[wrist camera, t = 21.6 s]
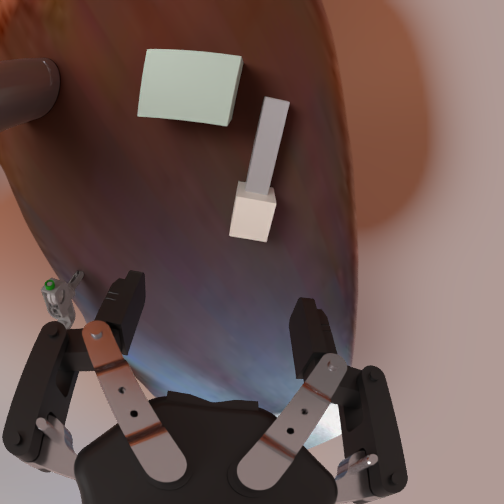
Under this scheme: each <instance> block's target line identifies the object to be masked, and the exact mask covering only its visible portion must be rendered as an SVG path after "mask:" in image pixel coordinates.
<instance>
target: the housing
mask: <svg viewBox="0 0 504 504" xmlns="http://www.w3.org/2000/svg"><path fill="white" fill-rule="evenodd" d="M243 63H244V62H243V60H242V57H241V56H234V55H227V54H219V53H211V52H200V51H188V50H168V49H147V53H146V59H145V64H144V70H143V77H142V83H141V90H140V98H139V106H138V115H137V116H140V117H154V118H166V119H176V120H185V121H193V122H201V123H208V124H215V125H222V126H228V124H229V123H230V121H231V119H232V115H233V110H234V105H235V100H236V96H237V91H238V86H239V81H240V77H241V72H242V67H243Z"/></svg>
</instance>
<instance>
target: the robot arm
mask: <svg viewBox="0 0 504 504" xmlns="http://www.w3.org/2000/svg"><path fill="white" fill-rule="evenodd" d="M59 87H60V75H59V71H58V68H57V66H56V64H55V63H54V62H53V61H52V60H50V59H47V58H31V59H16V60H6V61H0V132H1V131H4V130H6V129H9V128H12V127H14V126H17V125H20V124H23V123H26V122H28V121H31V120H34V119H37V118H40V117H42V116H44V115H45V114H46V113H48V112H49V110H50V109H51V108H52V106H53V105H54V103H55V101H56V99H57V96H58V92H59ZM144 303H145V274H144V273H143V272H137V271H132V270H130V271H129V273H128V275H127V277H126V279H121V278H119V279H118V280H116V281H115V282H114V283H113V284H112V285H111V287H110V289H109V291H108V293H107V295H106V298H105V299H104V301H103V303H102V305H101V307H100V309H99V311H98V313H97V316H96V318H95V320H94V321H91V322H89V323H88V324H86V325H85V326H84V328H82V329H66V328H65V326H64V325H63V324H62V323H61V322H58V321H52V322H49V323H47V324H46V325H44V326H43V327H42V329H41V331H40V333H39V335H38V338H37V340H36V342H35V344H34V346H33V349H32V351H31V353H30V356H29V358H28V360H27V363H26V365H25V368H24V370H23V373H22V375H21V378H20V381H19V383H18V386H17V389H16V392H15V395H14V397H13V400H12V403H11V406H10V410H9V413H8V416H7V420H6V424H5V427H4V431H3V436H2V438H3V443H4V445H5V447H6V449H7V450H8V451H9V452H10V453H12V454H13V455H15V456H16V457H18V458H19V459H20V460H21V461H23V462H25V463H26V464H28V465H30V466H32V467H34V468H37V469H39V470H40V471H43V472H51V471H52V472H54V473H57V474H60V475H62V476H65V477H68V478H71V479H74V480H76V482H77V484H78V487H79V490H80V494H81V499H82V504H340V503H347V502H353V503H356V504H364V503H367V502H371V501H374V500H377V499H380V498H383V497H386V496H389V495H392V494H395V493H397V492H400V491H401V490H402V489H404V487H405V486H406V484H407V480H408V476H407V470H406V465H405V459H404V454H403V449H402V444H401V439H400V435H399V430H398V426H397V421H396V417H395V413H394V409H393V405H392V401H391V397H390V393H389V389H388V386H387V382H386V378H385V375H384V373H383V372H382V371H381V370H380V369H379V368H378V367H375V366H366V367H365V368H364V369H363V370H359V369H356V368H353V367H350V366H347V364H346V362H345V360H344V359H343V358H342V357H341V356H339V355H337V351H336V347H335V344H334V340H333V336H332V333H331V329H330V326H329V322H328V318H327V316H326V315H325V313H324V312H323V311H322V309H317V308H316V304H315V300H314V299H310V298H302V297H300V298H299V299H298V301H297V303H296V306H295V308H294V310H293V313H292V315H291V317H290V322H289V330H290V337H291V344H292V351H293V358H294V365H295V372H296V379H304V384H303V385H302V386H301V388H300V389H299V390H298V392H297V393H296V394H295V396H294V397H293V398H292V400H291V401H290V402H289V404H288V405H287V406H286V408H285V409H284V410H283V411H282V413H281V414H280V415H279V417H278V418H277V417H276V416H275V415H273V414H272V413H270V412H268V411H266V410H264V409H262V408H259V407H258V401H244V400H232V401H224V402H209V401H207V400H204V399H201V398H198V397H196V396H193V395H191V394H185V393H179V392H173V391H168V393H167V396H163V397H157V398H154V399H151V400H149V401H148V400H147V399H146V397H145V395H144V393H143V391H142V389H141V388H140V386H139V384H138V382H137V380H136V378H135V376H134V374H133V372H132V370H131V368H130V366H129V364H128V363H127V361H126V360H124V358H123V356H122V354H123V355H128V352H129V349H130V345H131V342H132V339H133V336H134V333H135V330H136V327H137V324H138V321H139V318H140V316H141V313H142V310H143V307H144ZM79 371H95V372H96V375H97V377H98V380H99V382H100V385H101V387H102V389H103V392H104V394H105V396H106V398H107V401H108V403H109V405H110V407H111V409H112V411H113V413H114V416H115V418H116V420H117V422H118V423H117V424H116V425H114V426H113V427H112V428H110V429H109V430H108V431H106V432H105V433H104V434H102V435H101V436H100V437H98V438H97V439H96V440H94V441H93V442H91V443H90V444H89V445H87V446H86V447H84V448H83V449H82V450H81V451H80V452H79V453H78V455H76V454H75V452H74V450H73V445H72V443H73V440H72V435H71V433H70V432H69V431H68V429H67V428H66V427H65V421H66V417H67V413H68V409H69V405H70V401H71V398H72V394H73V390H74V387H75V383H76V380H77V377H78V373H79ZM330 402H331V403H334V404H338V408H339V415H340V422H341V430H342V438H343V446H344V455H345V459H344V460H343V461H342V462H340V464H339V466H338V470H337V476H336V478H335V479H334V477H333V476H332V474H331V473H330V472H329V471H328V470H327V469H325V467H324V466H323V465H321V463H320V462H319V461H317V459H316V458H315V457H314V456H313V455H312V454H311V453H310V452H309V451H308V450H307V449H306V448H305V447H304V446H303V444H304V443H305V441H306V440H307V439H308V437H309V436H310V434H311V433H312V431H313V430H314V428H315V427H316V425H317V423H318V422H319V420H320V419H321V417H322V416H323V414H324V412H325V411H326V409H327V407H328V406H329V404H330Z"/></svg>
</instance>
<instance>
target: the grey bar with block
mask: <svg viewBox="0 0 504 504" xmlns="http://www.w3.org/2000/svg"><path fill="white" fill-rule="evenodd" d="M289 104H290V102H288V101H284V100H280V99H276V98H271V97H266V96H264V99H263V104H262V108H261V113H260V117H259V122H258V127H257V131H256V136H255V141H254V145H253V150H252V155H251V159H250V164H249V169H248V174H247V179H246V182H240V181H238V187H237V192H236V197H235V202H234V208H233V213H232V219H231V226H230V233H229V236H233V237H239V238H245V239H251V240H257V241H262V242H267V238H268V234H269V230H270V226H271V223H272V219H273V215H274V211H275V207H276V199H275V194H274V188H272V187H270V183H271V179H272V175H273V170H274V166H275V162H276V158H277V154H278V150H279V145H280V141H281V137H282V133H283V129H284V125H285V121H286V116H287V112H288V108H289Z"/></svg>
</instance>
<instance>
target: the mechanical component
mask: <svg viewBox="0 0 504 504" xmlns="http://www.w3.org/2000/svg"><path fill="white" fill-rule="evenodd" d="M83 277H84V273H83V271H79V274H78V271H77V272H76V273H75V274H74V276H73V277H72V279H71V280H70V281H69V283H68V284H67V282H65V281H61V280H57V279H53V278H51V279H49V280H47V281H46V282H45V285H44V286H43V288H42V289H41V291H42V295H43V297H44V300H45V303H46V306H47V311H48V313H49V314H50V315H51V316H52V317H53V318H55V319H58V322H61V323H62V324H63V325H64V326H65V328H66V329H70V328H71V326H72V324H73V323H74V320H75V310H74V307H73V303H72V300H71V299H72V298H73V297H74V296H75V289H76V287H77V286H78V284H79V283H80V281H81V280H82V278H83Z"/></svg>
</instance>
